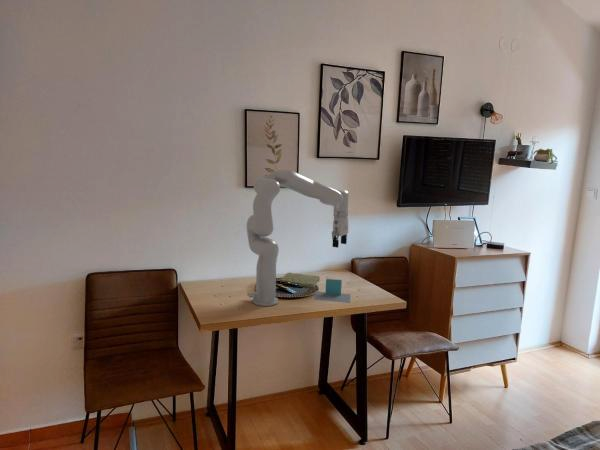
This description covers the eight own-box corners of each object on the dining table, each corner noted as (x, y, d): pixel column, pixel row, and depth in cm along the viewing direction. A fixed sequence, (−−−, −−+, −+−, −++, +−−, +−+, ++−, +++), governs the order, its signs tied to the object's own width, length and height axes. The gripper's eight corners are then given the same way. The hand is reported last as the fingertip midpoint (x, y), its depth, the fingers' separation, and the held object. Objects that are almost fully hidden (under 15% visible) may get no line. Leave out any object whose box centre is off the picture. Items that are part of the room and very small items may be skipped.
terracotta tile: (325, 293, 224) (326, 279, 222) (325, 292, 225) (326, 278, 224) (340, 295, 223) (341, 280, 221) (340, 294, 224) (341, 279, 223)
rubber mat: (313, 301, 214) (313, 299, 214) (316, 292, 227) (316, 291, 227) (349, 304, 212) (350, 302, 212) (350, 295, 225) (350, 294, 225)
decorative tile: (286, 277, 255) (286, 271, 255) (319, 280, 251) (320, 274, 251) (278, 286, 237) (278, 280, 237) (314, 290, 233) (314, 283, 233)
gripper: (339, 216, 217) (338, 249, 220) (354, 212, 232) (352, 243, 235) (326, 215, 221) (325, 247, 224) (341, 211, 235) (340, 241, 238)
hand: (339, 245), depth 229 cm, fingers open, 9 cm apart
